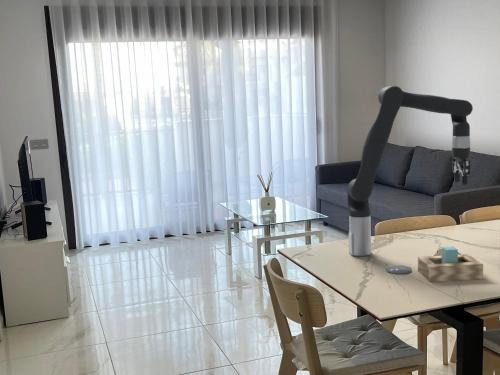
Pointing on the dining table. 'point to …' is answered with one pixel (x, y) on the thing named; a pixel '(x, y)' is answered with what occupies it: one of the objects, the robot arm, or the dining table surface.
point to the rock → (439, 252)
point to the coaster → (398, 269)
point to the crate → (450, 268)
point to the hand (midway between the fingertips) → (460, 183)
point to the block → (449, 255)
